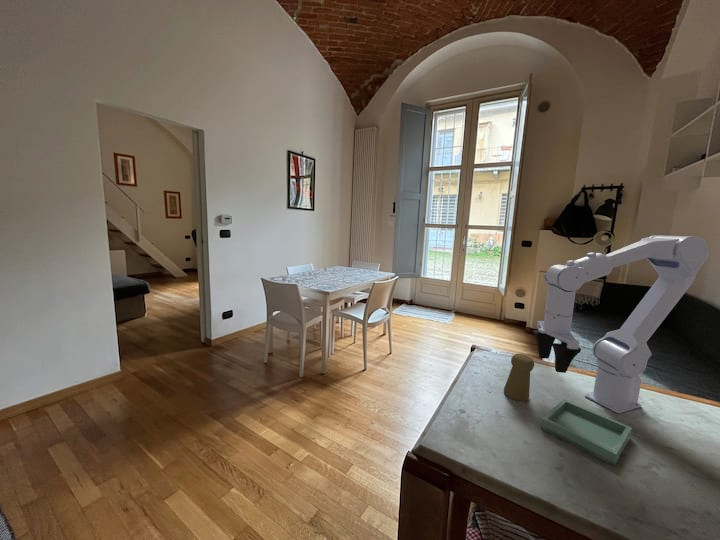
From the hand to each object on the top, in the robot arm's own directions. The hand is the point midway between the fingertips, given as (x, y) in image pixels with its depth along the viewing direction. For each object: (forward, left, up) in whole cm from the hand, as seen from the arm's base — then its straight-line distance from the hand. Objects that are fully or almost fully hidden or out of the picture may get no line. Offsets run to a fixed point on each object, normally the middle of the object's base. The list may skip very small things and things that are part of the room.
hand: (551, 364), depth 75 cm
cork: (+7, -4, -9) cm, 12 cm away
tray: (+5, +12, -9) cm, 16 cm away
